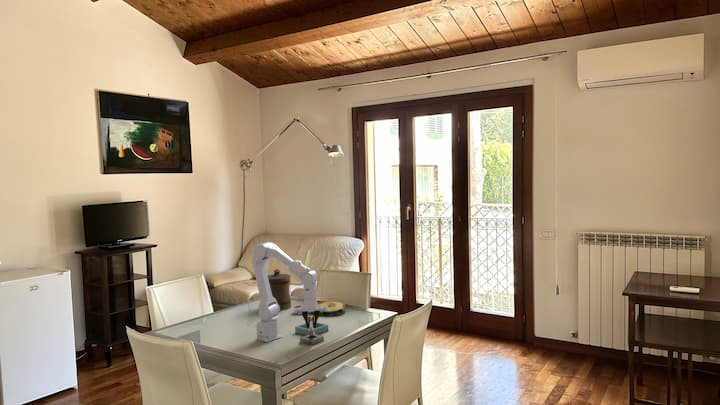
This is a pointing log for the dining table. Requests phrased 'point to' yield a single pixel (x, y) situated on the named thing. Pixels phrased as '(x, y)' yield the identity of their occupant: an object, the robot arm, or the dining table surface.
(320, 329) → the tray
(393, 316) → the dining table surface
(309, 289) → the robot arm
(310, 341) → the pin bracket
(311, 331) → the pin
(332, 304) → the pulley block
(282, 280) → the wooden container
